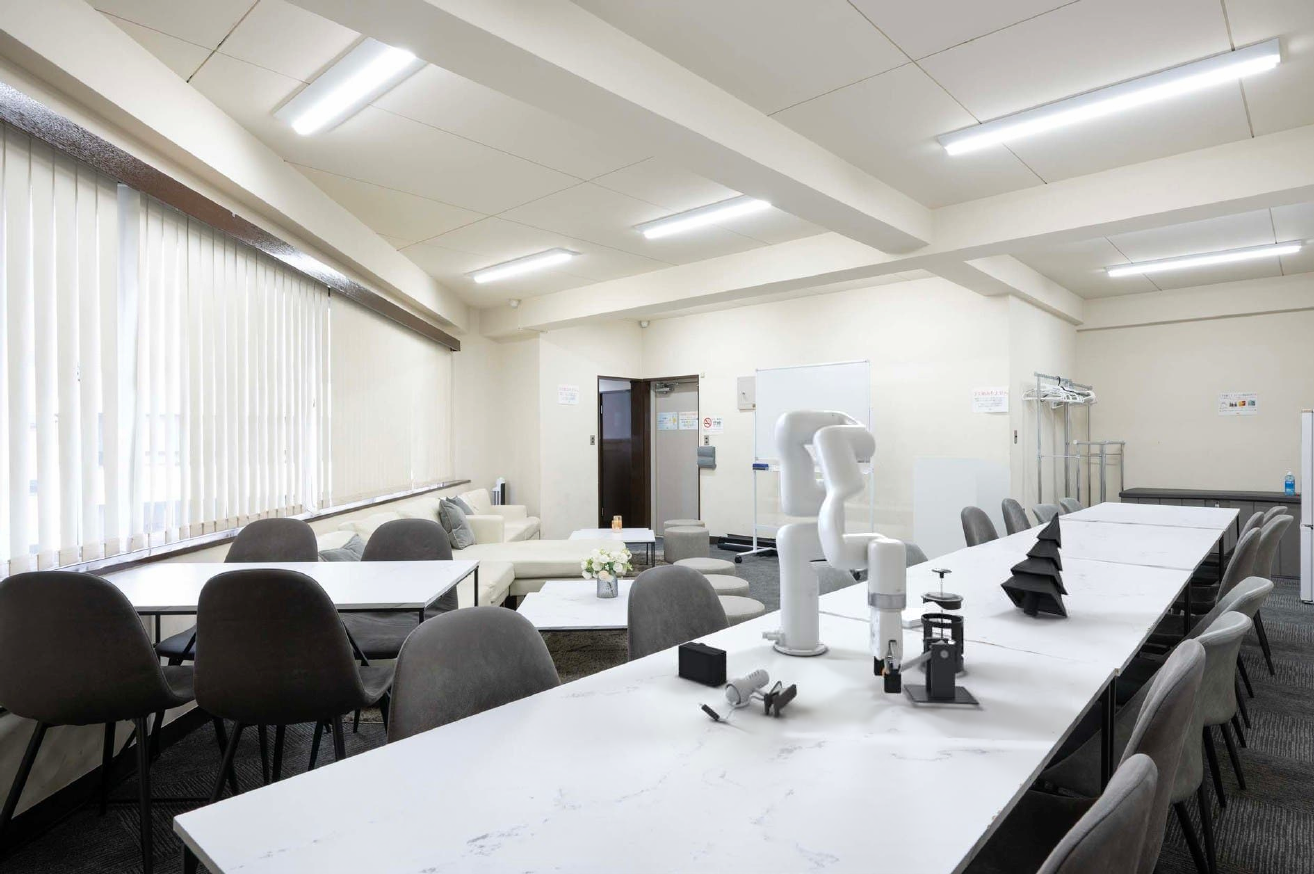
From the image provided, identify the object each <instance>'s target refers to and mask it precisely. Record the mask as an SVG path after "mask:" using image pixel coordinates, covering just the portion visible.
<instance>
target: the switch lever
mask: <svg viewBox="0 0 1314 874" xmlns="http://www.w3.org/2000/svg"><path fill="white" fill-rule="evenodd" d="M937 643H944V642H943V641H942V640H941V641H939V642H937ZM929 647H930V648H931V645H930V646H929ZM930 658H931V651H929V652H927V653H924V654H922V655H921V654H920V655H918V656H916V657H914V658H912V659H910V660H908V661H906V662H904V663H902V664H901V665H900V666H901V673H903V672H905V671H908V670H910V669H911V668H913V667H916V666H917V665H919V664H921V663H922V662H924V661H926V660H928V659H930ZM884 672H886V670H885V667H884V669H883V671H882V675H883V676H882V677H883V678H884Z"/></svg>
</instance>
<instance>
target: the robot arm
mask: <svg viewBox="0 0 1314 874" xmlns="http://www.w3.org/2000/svg"><path fill="white" fill-rule="evenodd" d="M774 441H775V442H774V443H775V447H776V451H777V454H778V459H779V466H780V467H779V468H780V469H779V471H780V473H779V474H780V501H781V509H782V511H783V513H784V514H785V515H786V516H788V517H792V518H812V517H813V518H815V517H816V518H817V517H818V521H804V522H803V521H802V522H801V521H800V522H791V523H787V524H785V525H783V526H781V527H780V528H779V529H778V531H777V532H776V536H775V546H776V550H777V551H776V552H777V555H778V565H779V584H780V585H779V586H780V590H779V591H780V593H779V595H780V597H779V598H780V599H779V600H780V601H779V603H780V607H779V608H780V609H779V611H780V612H779V613H780V614H779V615H780V626H778V629H775V630H774V631H773V630H772V631H771V630H762V631H761V633H762V634H761V635H762V637H761V638H762V640H763V639H764V640H766V639H767V641H772V642H773V641H774V649H775V650H776V651H779V652H780V653H783V654H786V655H790V656H791V655H792V656H799V657H800V656H802V657H804V656H805V657H807V656H809V657H810V656H817V655H820V654H823V653H825V652H826V648H827V647H826V644H825V643H824V642H823V641H821V640H820V584H819V583H820V582H819V577H818V573H817V571H816V570H815V569H814V567H813V566H812V564H811V561H818V560H826V561H827V563H828V565H829V566H830V567H831V568H833V569H835V570H837V571H854V570H855V571H856V570H857V571H858V570H867V607H868V608H869V609H870V614H869V631H868V633H869V634H868V647H869V650H870V651H871V652H872V654H873V675H874V676H876V677H883V675H882V671H883V669H884V667H885V670H886V672H884V677H883V692H884V693H885V694H899V695H900V694H902V672H901V666H900V665H902V664H901V661H902V660H903V655H904V633H903V632H904V631H903V626H902V612H901V611H904V610H906V607H907V547H906V544H905V543H904V542H903V541H902V540H899V539H893V538H889V537H886V536H884V535H882V534H880V533H875V532H869V533H868V532H866V533H865V532H864V533H848V534H847V533H846V520H845V518H846V517H845V516H846V515H845V502H847V501H850V500H852V499H854V498H856V497H857V496H859V495H860V494H861V493H862V492H863V491H864V490H865V485H866V483H865V480H864V477H863V474H862V471H861V469H860V464H859V462H866V461H869V460H870V459H872V458H873V457H874V455H875V452H876V449H877V448H876V446H877V445H876V439H875V437H874V435H873V433H872V431H871V430H870V429H869V428H868V427H867V426H866V425H864V424H863V423H862V422H860V421H858V420H857V419H855V418H854V417H851V416H850V415H848V414H846V413H845V412H842V411H838V410H809V409H807V410H806V409H804V410H802V409H801V410H792V411H788V412H785V413H783V414H782V415H781V416H779V418H778V420H777V421H776V425H775V428H774ZM805 445H806V446H813V450H814V453H815V457H816V460H817V463H818V467H819V471H820V473H821V477H822V478H816V473H815V472H816V471H815V460H814V458H813V456H812V455H811V453H810V451H809V450H808V449H807V447H806V446H805Z"/></svg>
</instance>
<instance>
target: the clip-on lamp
mask: <svg viewBox="0 0 1314 874" xmlns="http://www.w3.org/2000/svg"><path fill="white" fill-rule="evenodd" d="M769 683H770V676H769V673H768V672H767V671H766V670H765V669H763V668H758V669H756V670H754V671H752V672H750V673H749V674H747V675H745V676H744V677H741V678H738V677H737V678H732V679H730V680H729V681H728V682H726V683H725V687H724V690H725V691H724V692H725V699H727V701H728V702H729V703H731V709H730V712H729V713H728V714H727V716H726V717H725V718H724V719H721V716H720V714H718V713H717V712H716V711H714V709H712V708H711V707H710V706H709V705H707V704H706V703H704V704H702V702H701V703H699V704H698V705H699V706H700V707H701V710H702V711H703V712H704V713H706V714H707V715H708V716H709V717H710V718H712V719H713V720H714V721H715V722H718V721H719V722H724V721H726V720H728V718H729V717H730V716H731V714H732V713H733V710H734V708H741V707H744V706H747V705H748V704H749V703H750V702H751V701H752V699H754V700H757V701H761V702H763V706H764V714H765V715H766V716H769V714H770V713H771V708H772V706H773V713H774V717H775V718H778V717H779V716H780V715H781V710H782V709H783V708H784V707H786V705H788V704H789V703H791V701H792V700H794V698H796V697H797V694H798V690H797V689H798V687H797V684H795V683H792V684H791V685H790V686H785V687H783V683H782V681H781V680H778V681H777V682H776V683H775V684H774V685H773V687H772V688H771V690H770V691H769V692H766V691H764V690H762V689H763V688H764V687H766V686H767V685H769ZM755 693H756V694H758V695H760V696H762V697H763V698H762V697H760V696H757V695H754V694H755Z"/></svg>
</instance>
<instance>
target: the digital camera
mask: <svg viewBox="0 0 1314 874" xmlns="http://www.w3.org/2000/svg"><path fill="white" fill-rule="evenodd" d="M677 650H678V651H677V653H678V657H677V659H678V664H677V665H678V677H680V678H683V679H686V680H690V681H692V682H696V683H699V684H702V685H706V686H709V687H711V688H717V687H720V686H722V685H724V684H727V683H728V682H727V680H728V679H727V677H728V674H727V673H728V671H727V667H728V666H727V664H728V663H727V662H728V661H727V656H728V655H727V650H724V649H722V648H717V647H713V646H710V645H707V644H705V643H704V642H694V641H688V642H685V643H682V644H679V645H678V649H677Z"/></svg>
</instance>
